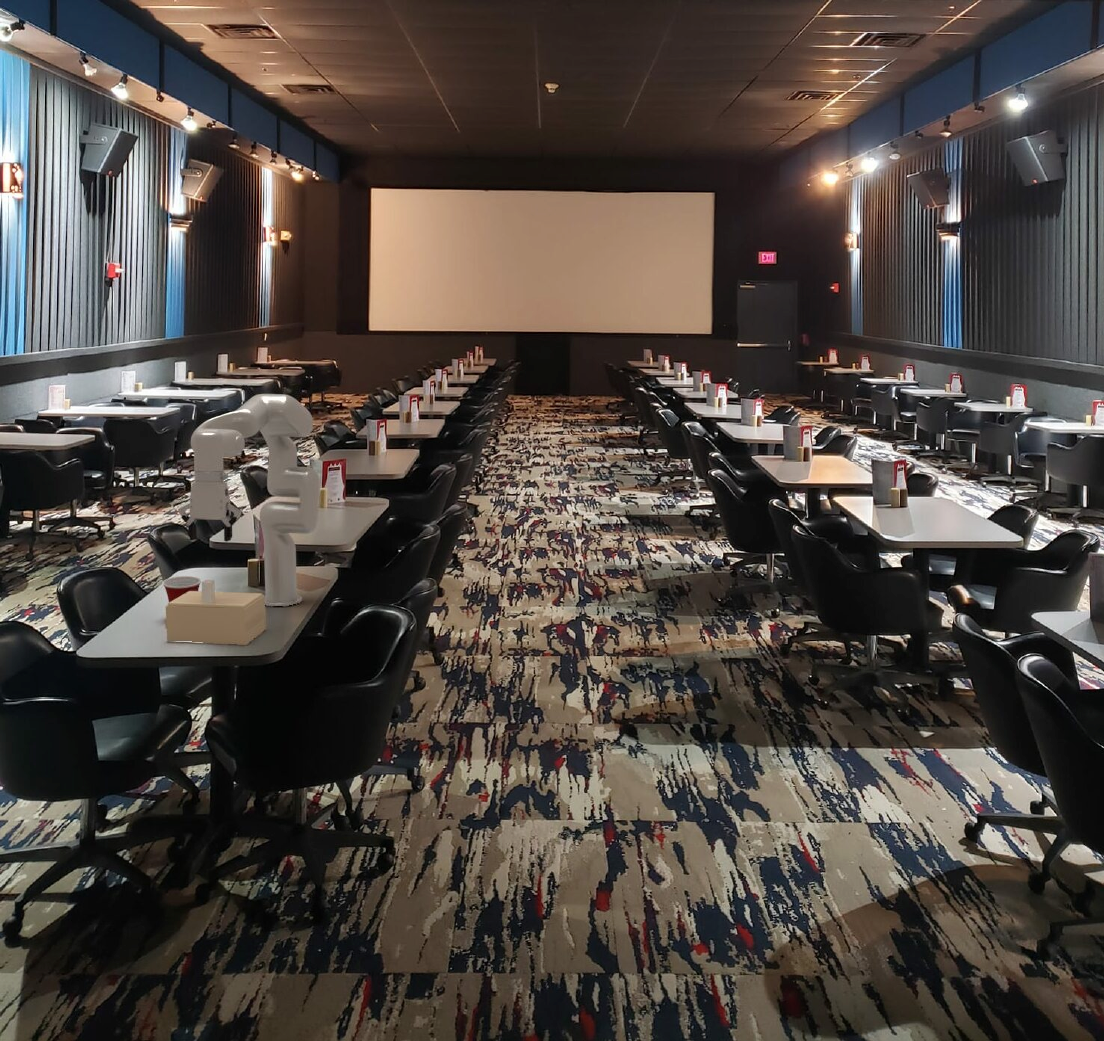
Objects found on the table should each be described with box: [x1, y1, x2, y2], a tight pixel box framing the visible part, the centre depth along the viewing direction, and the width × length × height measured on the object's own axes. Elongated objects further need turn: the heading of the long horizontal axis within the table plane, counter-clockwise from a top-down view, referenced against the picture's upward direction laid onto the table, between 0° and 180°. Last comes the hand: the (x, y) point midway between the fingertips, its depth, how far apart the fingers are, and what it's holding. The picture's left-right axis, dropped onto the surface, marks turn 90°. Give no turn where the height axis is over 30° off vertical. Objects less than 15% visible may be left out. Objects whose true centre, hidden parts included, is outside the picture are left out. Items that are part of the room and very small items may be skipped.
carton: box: [164, 594, 267, 646], centre depth 325 cm, size 16×22×10 cm
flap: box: [167, 579, 264, 608], centre depth 323 cm, size 15×21×7 cm
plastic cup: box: [161, 575, 202, 603], centre depth 341 cm, size 11×11×12 cm
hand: (210, 540), depth 319 cm, fingers open, 9 cm apart
